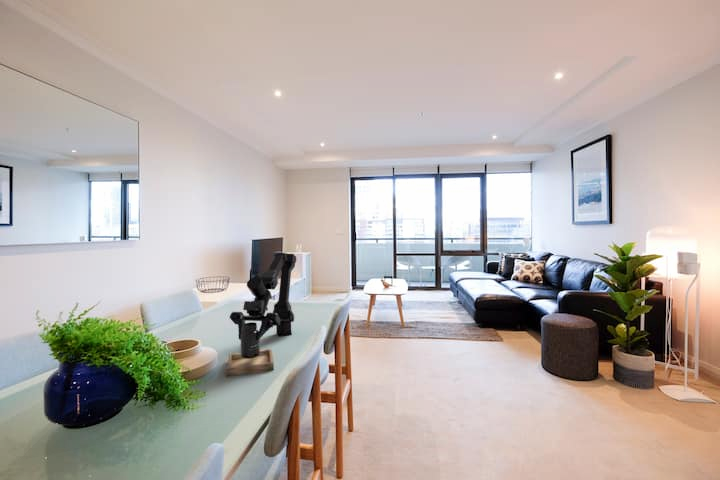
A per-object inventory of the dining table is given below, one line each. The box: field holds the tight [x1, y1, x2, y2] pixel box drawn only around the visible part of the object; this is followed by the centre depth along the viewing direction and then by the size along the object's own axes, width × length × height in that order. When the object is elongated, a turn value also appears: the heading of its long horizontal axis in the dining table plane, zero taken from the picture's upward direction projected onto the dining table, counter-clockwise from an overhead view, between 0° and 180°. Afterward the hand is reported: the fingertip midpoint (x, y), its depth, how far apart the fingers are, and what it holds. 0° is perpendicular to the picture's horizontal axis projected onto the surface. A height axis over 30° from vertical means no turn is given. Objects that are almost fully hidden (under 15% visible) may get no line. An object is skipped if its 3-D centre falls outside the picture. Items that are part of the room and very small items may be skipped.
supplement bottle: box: [240, 321, 261, 359], centre depth 118 cm, size 7×7×12 cm
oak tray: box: [225, 348, 275, 378], centre depth 118 cm, size 16×14×2 cm
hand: (248, 339), depth 116 cm, fingers closed on supplement bottle, 7 cm apart
